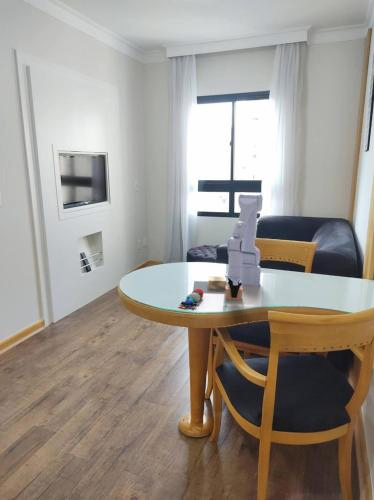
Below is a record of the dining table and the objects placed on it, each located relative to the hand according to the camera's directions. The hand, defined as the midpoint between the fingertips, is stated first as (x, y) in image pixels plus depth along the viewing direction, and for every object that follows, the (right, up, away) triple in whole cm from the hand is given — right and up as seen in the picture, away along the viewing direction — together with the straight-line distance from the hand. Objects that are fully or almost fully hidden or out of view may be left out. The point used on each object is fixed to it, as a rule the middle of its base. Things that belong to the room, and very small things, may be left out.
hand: (233, 295), depth 156 cm
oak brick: (-6, +2, +13) cm, 15 cm away
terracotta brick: (0, -1, 0) cm, 1 cm away
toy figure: (-18, -3, -5) cm, 19 cm away
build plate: (-7, +2, +12) cm, 14 cm away
